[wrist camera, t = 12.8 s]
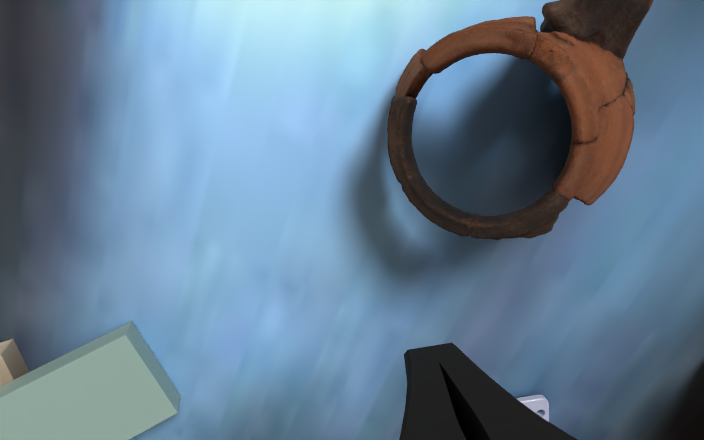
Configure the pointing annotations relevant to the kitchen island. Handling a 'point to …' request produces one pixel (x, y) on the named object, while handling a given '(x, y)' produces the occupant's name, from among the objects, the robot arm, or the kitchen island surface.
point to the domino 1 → (11, 362)
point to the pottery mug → (576, 87)
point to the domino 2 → (90, 393)
